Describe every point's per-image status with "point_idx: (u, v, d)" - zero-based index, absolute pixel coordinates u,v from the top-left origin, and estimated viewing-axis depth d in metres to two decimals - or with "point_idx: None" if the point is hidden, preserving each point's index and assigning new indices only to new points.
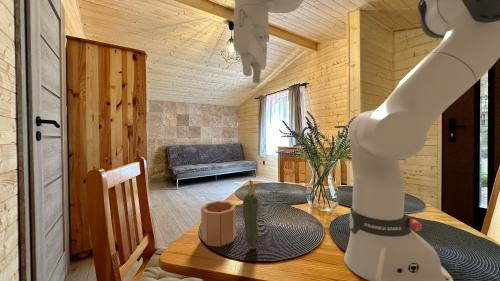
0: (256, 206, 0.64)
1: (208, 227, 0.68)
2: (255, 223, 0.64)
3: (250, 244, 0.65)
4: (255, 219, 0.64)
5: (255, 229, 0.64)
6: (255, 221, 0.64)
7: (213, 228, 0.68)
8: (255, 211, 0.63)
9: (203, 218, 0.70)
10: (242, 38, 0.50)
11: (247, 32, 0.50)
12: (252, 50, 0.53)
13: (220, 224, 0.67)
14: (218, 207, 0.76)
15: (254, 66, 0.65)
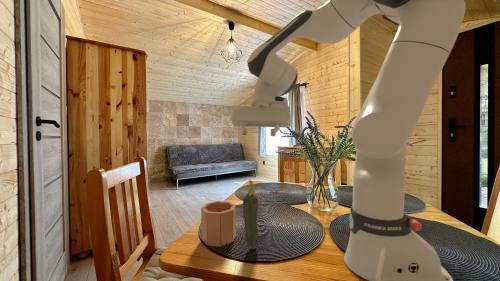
0: (256, 206, 0.64)
1: (208, 227, 0.68)
2: (255, 223, 0.64)
3: (250, 244, 0.65)
4: (255, 219, 0.64)
5: (255, 229, 0.64)
6: (255, 221, 0.64)
7: (213, 228, 0.68)
8: (255, 211, 0.63)
9: (203, 218, 0.70)
10: None
11: (233, 113, 0.80)
12: (240, 118, 0.78)
13: (220, 224, 0.67)
14: (218, 207, 0.76)
15: None
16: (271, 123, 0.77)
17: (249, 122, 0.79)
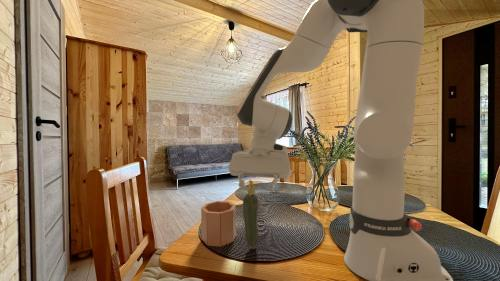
0: (256, 206, 0.64)
1: (208, 227, 0.68)
2: (255, 223, 0.64)
3: (250, 244, 0.65)
4: (255, 219, 0.64)
5: (255, 229, 0.64)
6: (255, 221, 0.64)
7: (213, 228, 0.68)
8: (255, 211, 0.63)
9: (203, 218, 0.70)
10: None
11: (230, 162, 0.78)
12: (237, 169, 0.75)
13: (220, 224, 0.67)
14: (218, 207, 0.76)
15: (274, 176, 0.73)
16: (270, 174, 0.74)
17: (247, 172, 0.76)
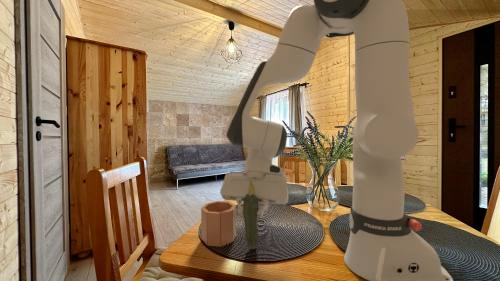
0: (256, 206, 0.64)
1: (208, 227, 0.68)
2: (255, 223, 0.64)
3: (250, 244, 0.65)
4: (255, 219, 0.64)
5: (255, 229, 0.64)
6: (255, 221, 0.64)
7: (213, 228, 0.68)
8: (255, 211, 0.63)
9: (203, 218, 0.70)
10: None
11: (222, 185, 0.71)
12: (230, 193, 0.68)
13: (220, 224, 0.67)
14: (218, 207, 0.76)
15: None
16: None
17: None
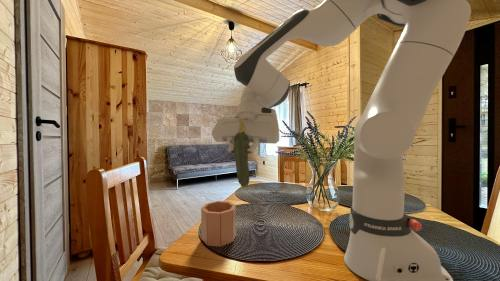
0: (247, 143, 0.64)
1: (208, 227, 0.68)
2: (245, 160, 0.64)
3: (241, 182, 0.65)
4: (246, 156, 0.64)
5: (246, 166, 0.64)
6: (246, 158, 0.64)
7: (213, 228, 0.68)
8: (246, 148, 0.64)
9: (203, 218, 0.70)
10: None
11: (214, 127, 0.71)
12: (221, 133, 0.68)
13: (220, 224, 0.67)
14: (218, 207, 0.76)
15: None
16: None
17: None
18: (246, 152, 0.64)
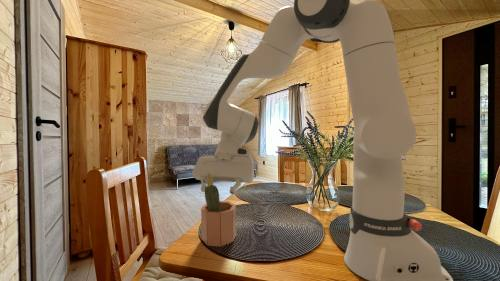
0: (216, 195, 0.70)
1: (208, 227, 0.68)
2: (218, 210, 0.70)
3: None
4: (217, 207, 0.70)
5: None
6: (218, 208, 0.70)
7: (213, 228, 0.68)
8: (216, 199, 0.70)
9: (203, 218, 0.70)
10: None
11: (195, 166, 0.77)
12: (201, 173, 0.75)
13: (220, 224, 0.67)
14: None
15: None
16: (233, 178, 0.74)
17: None
18: (217, 203, 0.70)
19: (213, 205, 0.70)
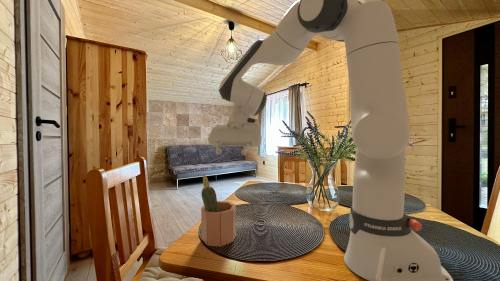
0: (213, 196, 0.69)
1: (208, 227, 0.68)
2: (216, 211, 0.70)
3: None
4: (215, 208, 0.70)
5: None
6: (216, 209, 0.70)
7: (213, 228, 0.68)
8: (213, 201, 0.69)
9: (203, 218, 0.70)
10: None
11: (210, 133, 0.89)
12: (215, 139, 0.86)
13: (220, 224, 0.67)
14: (218, 207, 0.76)
15: None
16: (243, 143, 0.85)
17: (224, 142, 0.87)
18: (214, 204, 0.69)
19: (211, 207, 0.69)
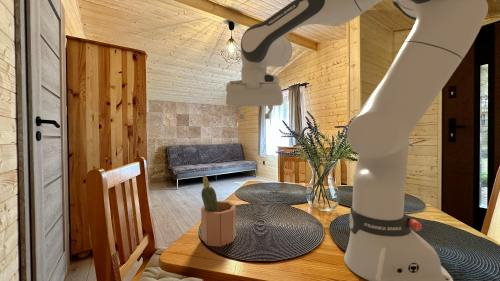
0: (213, 196, 0.69)
1: (208, 227, 0.68)
2: (216, 211, 0.70)
3: None
4: (215, 208, 0.70)
5: None
6: (216, 209, 0.70)
7: (213, 228, 0.68)
8: (213, 201, 0.69)
9: (203, 218, 0.70)
10: None
11: (226, 96, 0.83)
12: (235, 104, 0.82)
13: (220, 224, 0.67)
14: (218, 207, 0.76)
15: None
16: None
17: None
18: (214, 204, 0.69)
19: (211, 207, 0.69)
